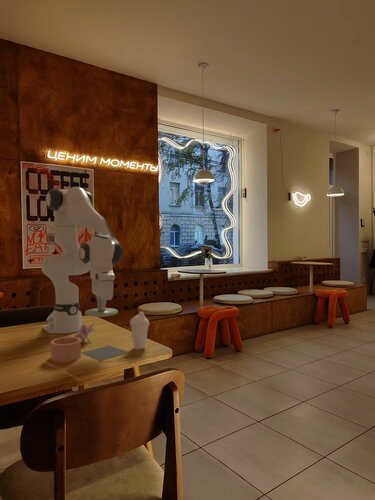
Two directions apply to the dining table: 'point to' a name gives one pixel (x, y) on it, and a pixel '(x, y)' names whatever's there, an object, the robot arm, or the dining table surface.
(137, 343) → the soft serve ice cream cone
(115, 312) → the lid
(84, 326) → the lily
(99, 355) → the mat
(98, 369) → the dining table surface
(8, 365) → the dining table surface
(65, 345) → the bowl
